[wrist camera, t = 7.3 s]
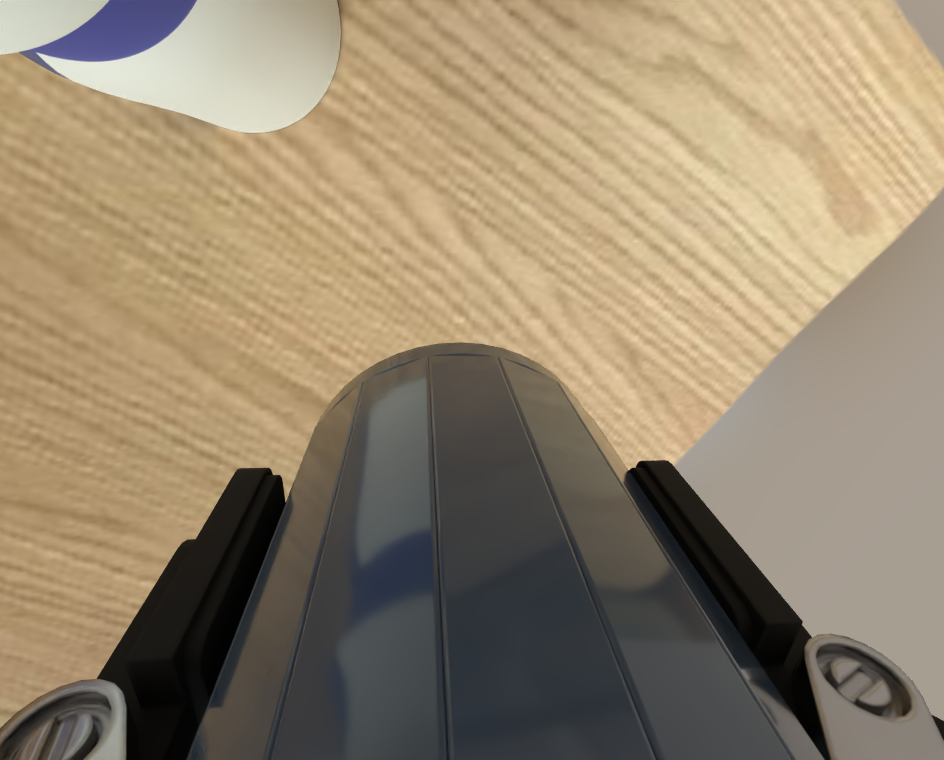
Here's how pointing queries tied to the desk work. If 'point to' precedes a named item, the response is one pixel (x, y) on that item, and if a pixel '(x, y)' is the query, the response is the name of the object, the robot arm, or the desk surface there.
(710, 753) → the blue cup
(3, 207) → the desk surface
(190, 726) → the robot arm
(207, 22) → the water bottle
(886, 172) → the desk surface
